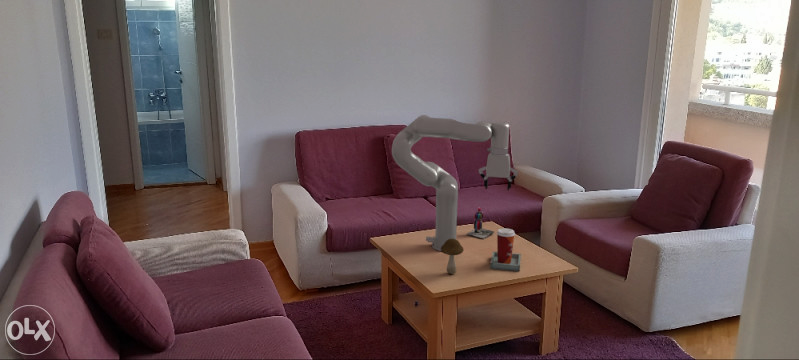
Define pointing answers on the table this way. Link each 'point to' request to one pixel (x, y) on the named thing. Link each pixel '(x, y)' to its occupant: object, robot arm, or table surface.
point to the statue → (479, 226)
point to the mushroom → (451, 253)
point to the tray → (511, 267)
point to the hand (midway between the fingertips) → (497, 189)
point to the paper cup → (505, 245)
